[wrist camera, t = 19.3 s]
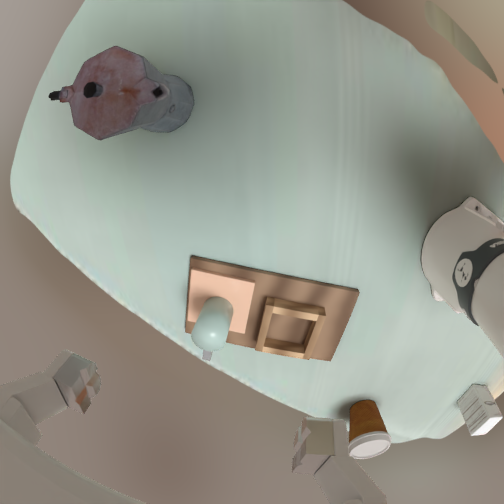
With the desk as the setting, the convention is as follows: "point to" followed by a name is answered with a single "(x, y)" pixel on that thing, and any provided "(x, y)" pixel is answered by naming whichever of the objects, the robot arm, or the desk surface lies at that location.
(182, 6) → the desk surface
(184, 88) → the moka pot
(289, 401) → the desk surface
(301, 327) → the walnut board
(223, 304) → the pale blue rounded piece
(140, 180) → the desk surface
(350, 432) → the disposable coffee cup
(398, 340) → the desk surface
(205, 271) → the terracotta coaster
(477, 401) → the supplement box
